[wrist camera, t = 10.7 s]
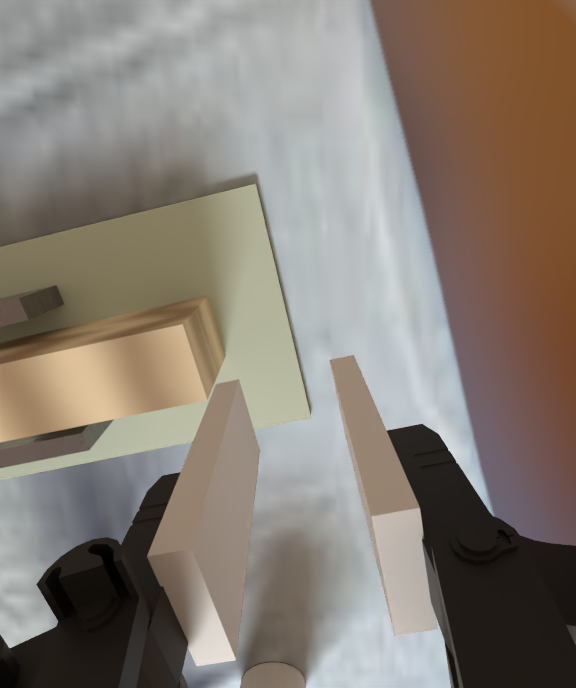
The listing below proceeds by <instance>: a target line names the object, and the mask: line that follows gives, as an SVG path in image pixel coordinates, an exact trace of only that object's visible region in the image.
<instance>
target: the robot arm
mask: <svg viewBox="0 0 576 688" xmlns="http://www.w3.org/2000/svg"><path fill="white" fill-rule="evenodd" d="M330 364H331V369H332V374H333V379H334V383H335V388H336V393H337V398H338V403H339V407H340V412H341V417H342V422H343V427H344V431H345V436H346V440H347V444H348V448H349V452H350V456H351V460H352V464H353V468H354V472H355V476H356V480H357V484H358V488H359V493H360V497H361V501H362V505H363V509H364V513H365V517H366V521H367V525H368V529H369V533H370V537H371V541H372V545H373V549H374V553H375V557H376V561H377V565H378V569H379V573H380V577H381V581H382V586H383V590H384V594H385V598H386V602H387V606H388V610H389V614H390V618H391V622H392V626H393V630H394V634H395V635H401V634H408V633H414V632H421V631H427V630H433V629H437V622H436V618H437V620H438V623H439V626H440V629H441V631H442V634H443V637H444V640H445V647H446V654H447V661H448V669H449V676H450V683H451V688H576V546H572V545H561V544H551V543H545V542H540V541H534V540H532V539H529V538H526V537H523V536H520V535H519V534H518V533H517V531H516V530H515V529H514V528H513V527H511V526H510V525H508V524H507V523H505V522H504V521H502V520H501V519H499V518H496V517H493V516H492V515H491V513H490V512H489V511H488V509H487V508H486V506H485V505H484V503H483V502H482V500H481V499H480V497H479V495H478V494H477V492H476V491H475V489H474V488H473V486H472V485H471V483H470V482H469V480H468V479H467V477H466V476H465V474H464V472H463V471H462V469H461V468H460V466H459V465H458V463H456V460H455V459H454V457H453V456H452V454H451V453H450V451H448V448H447V446H446V445H445V443H444V442H443V440H442V439H441V437H440V436H439V434H437V433H436V432H434V431H433V430H431V429H429V428H428V427H426V426H425V425H423V424H419V425H414V426H409V427H404V428H398V429H393V430H388V431H386V429H385V426H384V424H383V422H382V419H381V417H380V415H379V412H378V410H377V408H376V406H375V403H374V401H373V399H372V396H371V394H370V392H369V389H368V387H367V385H366V382H365V380H364V378H363V376H362V373H361V371H360V369H359V366H358V364H357V362H356V359H355V357H354V355H352V356H347V357H342V358H338V359H333V360H330ZM259 455H260V449H259V445H258V442H257V439H256V435H255V432H254V428H253V425H252V422H251V418H250V415H249V412H248V408H247V405H246V401H245V398H244V395H243V391H242V388H241V384H240V381H239V379H238V380H233V381H228V382H223V383H219V384H216V385H215V388H214V390H213V393H212V395H211V398H210V400H209V403H208V405H207V408H206V410H205V413H204V415H203V418H202V420H201V423H200V425H199V428H198V430H197V433H196V435H195V438H194V440H193V443H192V445H191V448H190V450H189V453H188V455H187V458H186V460H185V463H184V465H183V468H182V470H181V472H180V473H174V474H169V475H164V476H162V477H161V478H160V479H159V480H158V481H157V482H156V483H155V484H154V485H153V486H152V487H151V488H150V489H149V490H148V491H147V493H146V495H145V497H144V499H143V501H142V504H141V506H140V508H139V509H140V511H138V512H137V514H136V516H135V518H134V520H133V522H132V523H133V525H132V526H130V528H129V530H128V532H127V534H126V536H125V538H124V540H123V542H122V544H121V545H120V544H119V542H118V541H117V540H114V539H111V538H107V537H106V538H100V539H93V540H90V541H88V542H86V543H83V544H81V545H78V546H76V547H75V548H73V549H72V550H70V551H69V552H67V553H66V554H64V555H63V556H61V557H60V558H59V559H58V560H57V561H56V562H55V563H54V564H53V565H52V566H50V567H49V568H48V569H47V570H46V572H45V573H44V575H43V576H42V578H41V579H40V580H39V582H38V583H37V586H38V588H39V589H40V591H41V593H42V594H43V596H44V598H45V600H46V601H47V603H48V605H49V606H50V608H51V610H52V611H53V613H54V615H55V616H56V618H57V620H58V624H57V626H56V627H55V628H53V629H51V630H49V631H47V632H45V633H42V634H40V635H38V636H36V637H34V638H32V639H29V640H27V641H25V642H23V643H21V644H19V645H16V646H14V647H12V648H9V647H8V645H7V644H6V643H5V641H4V640H3V638H2V637H1V635H0V688H188V687H187V683H186V681H185V679H184V677H183V674H182V669H183V665H184V660H185V656H186V651H187V647H188V648H189V651H190V653H191V655H192V657H193V659H194V662H195V664H196V666H202V665H208V664H215V663H221V662H228V661H234V660H236V657H237V648H238V639H239V631H240V622H241V613H242V604H243V596H244V587H245V578H246V569H247V560H248V552H249V543H250V534H251V525H252V517H253V508H254V499H255V490H256V482H257V473H258V464H259Z"/></svg>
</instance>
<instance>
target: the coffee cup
mask: <svg viewBox="0 0 576 688" xmlns="http://www.w3.org/2000/svg"><path fill="white" fill-rule="evenodd" d="M240 688H306V683H305V679H304V677H303V675H302V674H301V672H300V671H299V670H297V669H296V668H294V667H292V666H290V665H287V664H284V663H279V662H268V663H262V664H259V665H256V666H254V667H252V668H251V669H249V670H248V671H247V672H246V673H245V674H244V676H243V678H242V681H241V686H240Z"/></svg>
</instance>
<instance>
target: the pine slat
mask: <svg viewBox="0 0 576 688" xmlns="http://www.w3.org/2000/svg"><path fill="white" fill-rule="evenodd" d="M224 359H225V353H224V349H223V346H222V342H221V339H220V336H219V332H218V329H217V326H216V322H215V319H214V315H213V312H212V309H211V305H210V302H209V299H208V296H204V297H200V298H195V299H191V300H186V301H182V302H177V303H173V304H168V305H164V306H159V307H155V308H151V309H146V310H142V311H137V312H133V313H128V314H124V315H119V316H115V317H110V318H106V319H101V320H97V321H93V322H88V323H84V324H79V325H75V326H70V327H66V328H61V329H57V330H52V331H48V332H43V333H39V334H34V335H30V336H26V337H21V338H17V339H12V340H8V341H3V342H0V442H5V441H10V440H15V439H20V438H25V437H29V436H34V435H39V434H44V433H49V432H54V431H59V430H64V429H69V428H74V427H79V426H83V425H88V424H93V423H98V422H103V421H108V420H113V419H118V418H123V417H128V416H133V415H137V414H142V413H147V412H152V411H157V410H162V409H167V408H172V407H177V406H182V405H186V404H191V403H196V402H201V401H206V400H208V398H209V395H210V393H211V390H212V388H213V386H214V383H215V381H216V378H217V376H218V373H219V371H220V369H221V366H222V364H223V361H224Z"/></svg>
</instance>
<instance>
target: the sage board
mask: <svg viewBox="0 0 576 688" xmlns="http://www.w3.org/2000/svg"><path fill="white" fill-rule="evenodd" d="M54 285H57V288H58V290H59V293H60V295H61V297H62V300H63V302H64V305H62V306H59V307H57V308H55V309H53V310H50V311H48V312H46V313H44V314H41V315H39V316H37V317H35V318H32V319H30V320H27V321H23V322H19V323H14V324H10V325H6V326H1V327H0V342H3V341H8V340H12V339H17V338H21V337H26V336H30V335H34V334H39V333H43V332H48V331H52V330H57V329H61V328H66V327H70V326H75V325H79V324H84V323H88V322H93V321H97V320H101V319H106V318H110V317H115V316H119V315H124V314H128V313H133V312H137V311H142V310H146V309H151V308H155V307H159V306H164V305H168V304H173V303H177V302H182V301H186V300H191V299H195V298H200V297H204V296H208V299H209V302H210V305H211V309H212V312H213V315H214V319H215V322H216V326H217V329H218V332H219V336H220V339H221V342H222V346H223V349H224V353H225V359H224V361H223V364H222V366H221V369H220V371H219V373H218V376H217V378H216V381H215V383H214V386H213V388H212V390H211V393H210V395H209V398H208V400H206V401H201V402H196V403H191V404H186V405H182V406H177V407H172V408H167V409H162V410H157V411H152V412H147V413H142V414H137V415H133V416H128V417H123V418H118V419H114V420H113V422H112V423H111V424H110V425H109V427H108V428H107V429H106V430H105V431H104V433H103V434H102V435H101V436H100V438H99V439H98V440H97V441H96V443H95V444H94V445H93V446H92V448H91V449H90V450H89V451H84V452H79V453H74V454H69V455H64V456H59V457H54V458H49V459H44V460H39V461H34V462H30V463H25V464H20V465H15V466H10V467H5V468H0V480H3V479H8V478H13V477H18V476H23V475H28V474H33V473H38V472H43V471H48V470H53V469H58V468H63V467H68V466H73V465H78V464H83V463H88V462H93V461H98V460H103V459H108V458H113V457H118V456H123V455H128V454H133V453H138V452H143V451H148V450H153V449H158V448H163V447H168V446H173V445H178V444H183V443H188V442H193V440H194V438H195V435H196V433H197V430H198V428H199V425H200V423H201V420H202V418H203V415H204V413H205V410H206V408H207V405H208V403H209V400H210V398H211V395H212V393H213V390H214V388H215V385H216V384H219V383H223V382H228V381H233V380H238V379H239V381H240V384H241V388H242V391H243V395H244V398H245V401H246V405H247V408H248V412H249V415H250V418H251V422H252V425H253V428H254V429H258V428H263V427H268V426H273V425H278V424H283V423H288V422H293V421H298V420H303V419H308V418H311V414H310V410H309V405H308V401H307V397H306V393H305V388H304V384H303V380H302V376H301V372H300V367H299V363H298V359H297V355H296V350H295V346H294V342H293V338H292V333H291V329H290V325H289V321H288V317H287V312H286V308H285V304H284V300H283V295H282V291H281V287H280V283H279V278H278V274H277V270H276V266H275V262H274V257H273V253H272V249H271V245H270V240H269V236H268V232H267V228H266V223H265V219H264V215H263V211H262V207H261V202H260V198H259V194H258V190H257V185H256V184H252V185H248V186H244V187H240V188H236V189H232V190H228V191H224V192H220V193H216V194H212V195H208V196H204V197H200V198H196V199H191V200H187V201H183V202H179V203H175V204H171V205H167V206H163V207H159V208H155V209H151V210H147V211H143V212H139V213H135V214H131V215H127V216H123V217H119V218H115V219H111V220H106V221H102V222H98V223H94V224H90V225H86V226H82V227H78V228H74V229H70V230H66V231H62V232H58V233H54V234H50V235H46V236H42V237H38V238H34V239H30V240H26V241H22V242H17V243H13V244H9V245H5V246H1V247H0V298H4V297H8V296H12V295H16V294H21V293H25V292H29V291H33V290H38V289H42V288H46V287H50V286H54Z"/></svg>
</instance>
